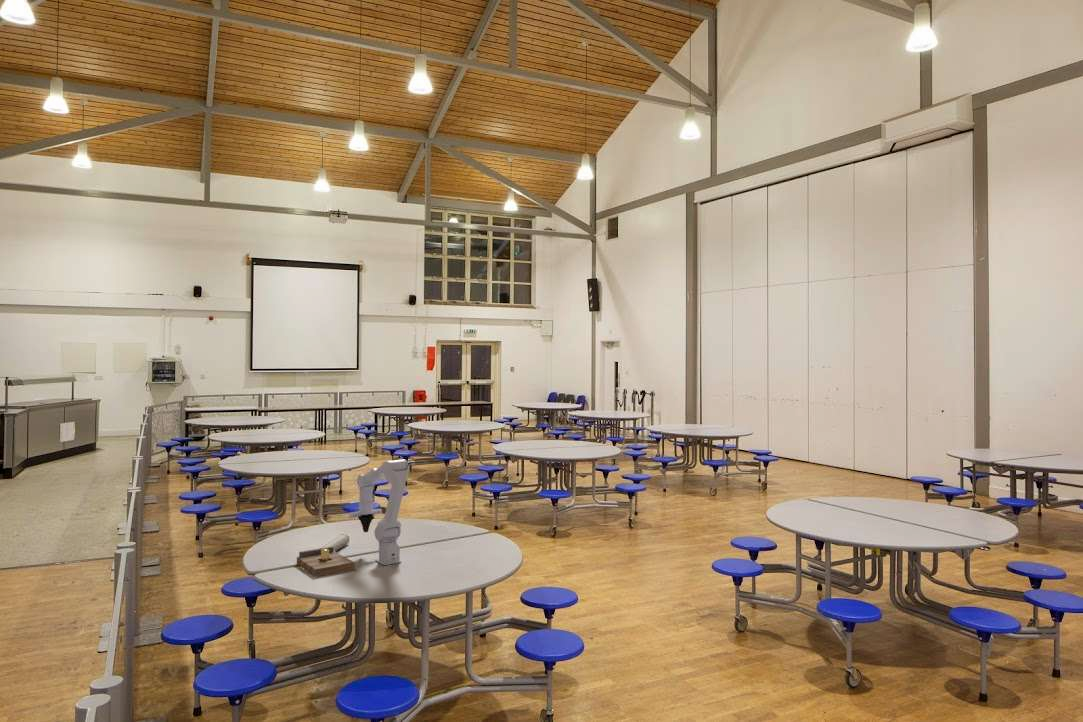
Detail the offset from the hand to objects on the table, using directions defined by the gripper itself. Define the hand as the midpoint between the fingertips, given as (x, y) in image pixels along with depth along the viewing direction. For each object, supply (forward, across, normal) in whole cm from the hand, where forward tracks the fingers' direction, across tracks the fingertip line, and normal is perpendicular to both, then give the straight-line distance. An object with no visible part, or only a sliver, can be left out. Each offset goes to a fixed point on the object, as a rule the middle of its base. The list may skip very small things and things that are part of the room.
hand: (365, 531), depth 297 cm
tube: (+10, +10, -11) cm, 18 cm away
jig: (+9, +22, +10) cm, 26 cm away
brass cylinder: (+9, +22, +10) cm, 26 cm away
